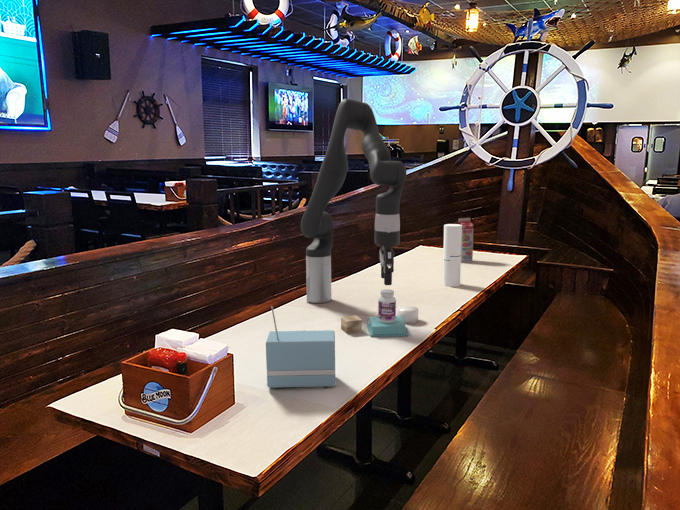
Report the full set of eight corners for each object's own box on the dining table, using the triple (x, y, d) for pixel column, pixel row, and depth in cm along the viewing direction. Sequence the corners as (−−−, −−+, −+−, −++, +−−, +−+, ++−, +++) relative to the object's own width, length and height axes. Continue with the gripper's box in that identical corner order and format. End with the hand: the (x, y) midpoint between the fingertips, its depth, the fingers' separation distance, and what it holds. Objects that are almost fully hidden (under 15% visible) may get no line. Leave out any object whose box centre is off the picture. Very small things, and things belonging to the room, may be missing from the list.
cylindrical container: (460, 287, 219) (462, 226, 214) (442, 286, 220) (443, 226, 216) (459, 283, 226) (461, 224, 221) (442, 282, 227) (444, 223, 222)
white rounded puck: (398, 324, 172) (398, 312, 172) (395, 317, 179) (395, 306, 178) (419, 323, 173) (420, 311, 172) (416, 317, 179) (416, 305, 179)
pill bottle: (381, 324, 162) (381, 293, 160) (375, 319, 167) (375, 289, 165) (398, 322, 163) (398, 292, 162) (392, 317, 169) (392, 288, 167)
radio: (335, 374, 133) (334, 296, 130) (335, 390, 124) (334, 307, 121) (271, 375, 133) (268, 297, 129) (267, 391, 124) (264, 308, 120)
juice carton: (454, 260, 274) (455, 217, 270) (465, 259, 276) (466, 217, 272) (460, 262, 268) (461, 219, 264) (472, 261, 270) (473, 218, 266)
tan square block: (346, 334, 163) (346, 321, 162) (341, 329, 168) (340, 317, 167) (361, 332, 165) (361, 319, 164) (355, 327, 169) (355, 315, 169)
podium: (370, 336, 160) (370, 327, 159) (367, 325, 171) (367, 316, 170) (407, 336, 160) (408, 326, 160) (402, 324, 171) (402, 315, 171)
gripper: (372, 225, 167) (371, 276, 170) (377, 232, 153) (376, 287, 156) (396, 225, 167) (395, 276, 170) (403, 232, 153) (401, 287, 156)
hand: (386, 281), depth 163 cm, fingers open, 8 cm apart
